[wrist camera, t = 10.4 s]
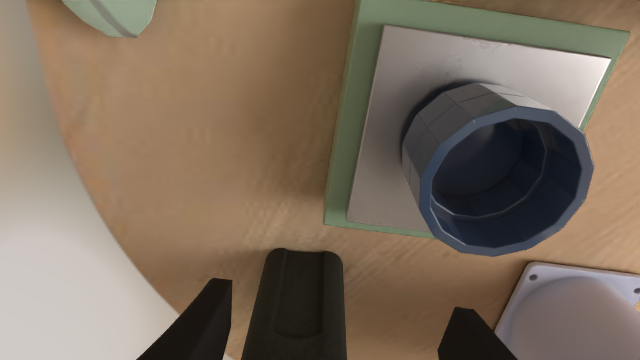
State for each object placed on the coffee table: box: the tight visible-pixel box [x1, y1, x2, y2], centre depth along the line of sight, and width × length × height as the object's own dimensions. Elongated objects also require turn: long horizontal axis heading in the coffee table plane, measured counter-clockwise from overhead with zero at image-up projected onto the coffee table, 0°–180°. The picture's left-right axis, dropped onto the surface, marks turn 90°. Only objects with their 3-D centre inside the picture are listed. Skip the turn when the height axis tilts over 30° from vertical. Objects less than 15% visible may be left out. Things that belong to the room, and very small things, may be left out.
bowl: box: [402, 83, 594, 257], centre depth 14 cm, size 6×6×4 cm
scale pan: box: [345, 23, 611, 232], centre depth 16 cm, size 9×9×1 cm
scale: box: [323, 0, 630, 250], centre depth 18 cm, size 11×12×3 cm
